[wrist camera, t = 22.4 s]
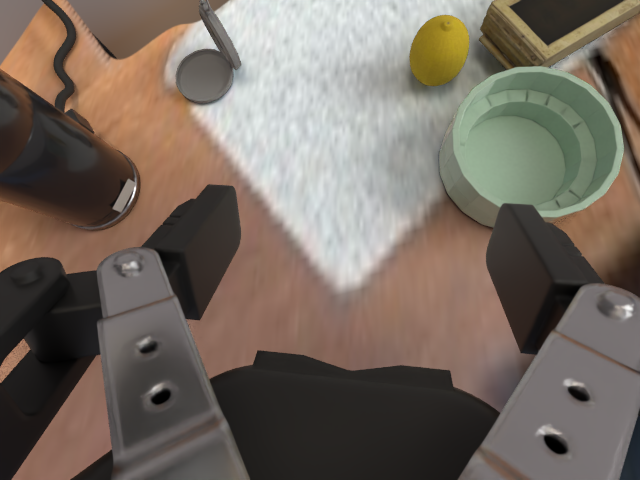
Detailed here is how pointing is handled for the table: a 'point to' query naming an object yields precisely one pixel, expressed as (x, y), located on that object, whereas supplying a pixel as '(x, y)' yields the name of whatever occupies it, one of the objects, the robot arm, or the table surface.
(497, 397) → the table surface
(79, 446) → the table surface
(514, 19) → the box
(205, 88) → the pocket watch
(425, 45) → the lemon
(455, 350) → the table surface
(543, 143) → the bowl
